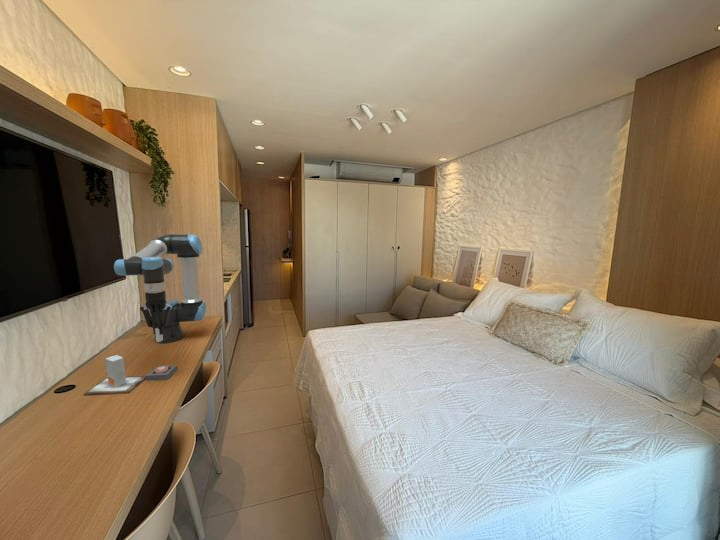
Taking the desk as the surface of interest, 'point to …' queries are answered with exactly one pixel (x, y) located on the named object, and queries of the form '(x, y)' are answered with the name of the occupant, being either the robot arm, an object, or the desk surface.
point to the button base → (161, 374)
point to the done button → (161, 369)
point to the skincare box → (115, 370)
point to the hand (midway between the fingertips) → (159, 340)
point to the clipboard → (109, 389)
